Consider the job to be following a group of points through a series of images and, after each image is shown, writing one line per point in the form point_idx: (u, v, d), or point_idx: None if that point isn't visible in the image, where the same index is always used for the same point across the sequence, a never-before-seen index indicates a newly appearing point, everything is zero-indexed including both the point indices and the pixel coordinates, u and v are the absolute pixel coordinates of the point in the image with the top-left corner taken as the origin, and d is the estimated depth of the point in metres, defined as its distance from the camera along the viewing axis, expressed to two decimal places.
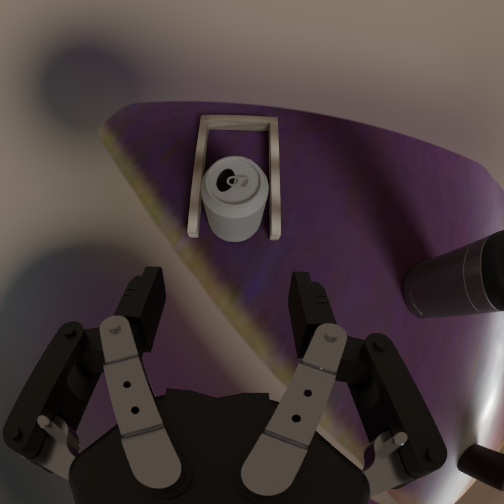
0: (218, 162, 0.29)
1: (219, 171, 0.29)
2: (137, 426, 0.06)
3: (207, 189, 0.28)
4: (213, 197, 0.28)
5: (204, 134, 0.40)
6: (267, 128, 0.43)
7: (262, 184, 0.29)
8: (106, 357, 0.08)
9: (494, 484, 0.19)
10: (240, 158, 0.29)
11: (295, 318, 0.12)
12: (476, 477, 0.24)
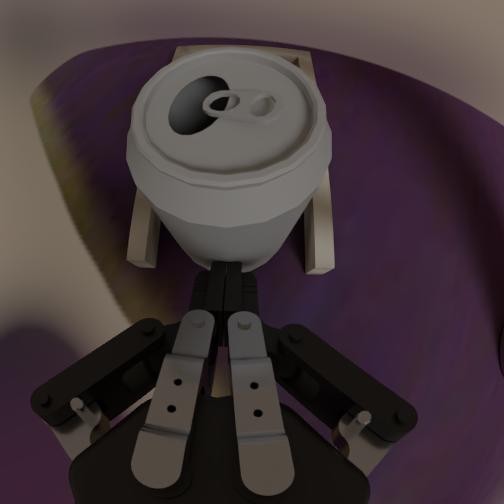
0: (182, 60, 0.08)
1: (183, 83, 0.08)
2: (164, 424, 0.06)
3: (134, 128, 0.07)
4: (149, 151, 0.07)
5: None
6: None
7: (322, 115, 0.08)
8: (175, 347, 0.09)
9: None
10: (248, 51, 0.08)
11: None
12: None
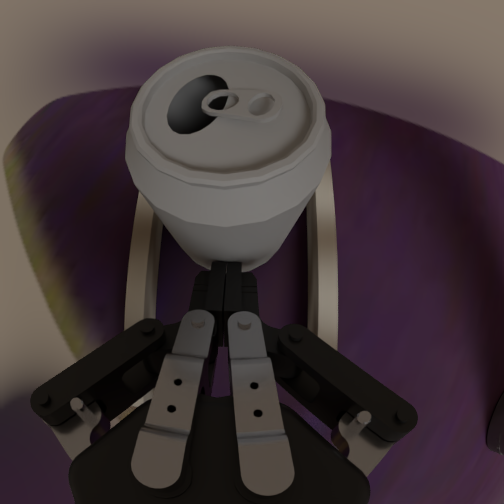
0: (181, 59, 0.08)
1: (182, 82, 0.08)
2: (164, 424, 0.06)
3: (133, 127, 0.07)
4: (147, 150, 0.07)
5: None
6: None
7: (321, 114, 0.08)
8: (175, 347, 0.09)
9: None
10: (247, 50, 0.08)
11: None
12: None
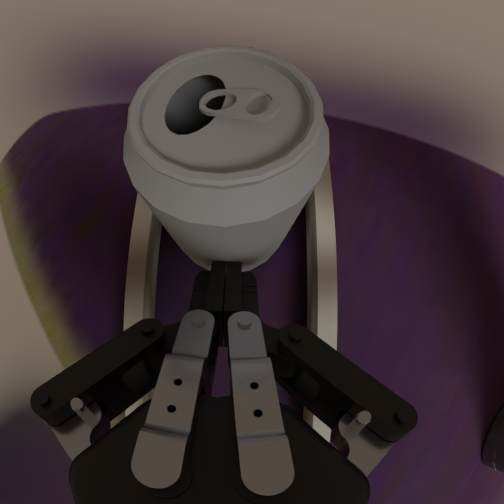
0: (178, 60, 0.08)
1: (179, 82, 0.08)
2: (164, 424, 0.06)
3: (130, 128, 0.07)
4: (145, 151, 0.07)
5: None
6: None
7: (319, 112, 0.08)
8: (175, 347, 0.09)
9: None
10: (244, 49, 0.08)
11: None
12: None
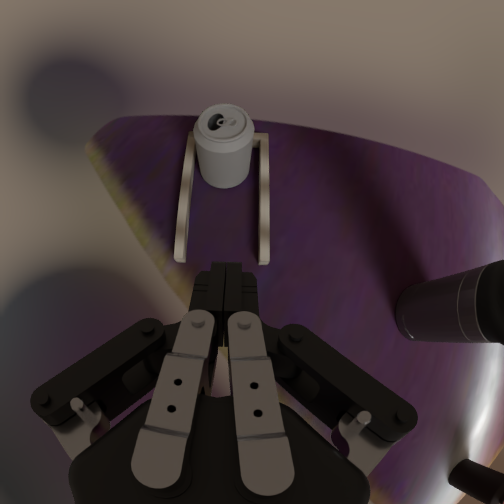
0: (209, 108, 0.31)
1: (210, 115, 0.31)
2: (164, 424, 0.06)
3: (199, 128, 0.30)
4: (204, 134, 0.30)
5: (191, 152, 0.39)
6: (257, 145, 0.42)
7: (248, 123, 0.31)
8: (175, 347, 0.09)
9: (483, 499, 0.18)
10: (229, 105, 0.31)
11: None
12: (466, 492, 0.24)
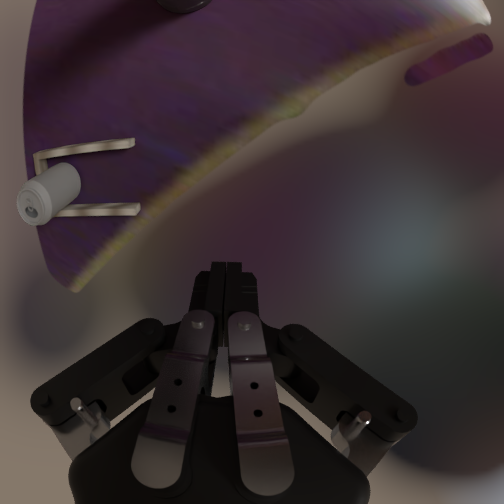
0: (23, 219, 0.32)
1: (28, 216, 0.32)
2: (164, 424, 0.06)
3: (38, 223, 0.33)
4: (41, 219, 0.32)
5: None
6: (43, 158, 0.38)
7: (26, 189, 0.30)
8: (175, 347, 0.09)
9: None
10: (17, 205, 0.31)
11: None
12: None
